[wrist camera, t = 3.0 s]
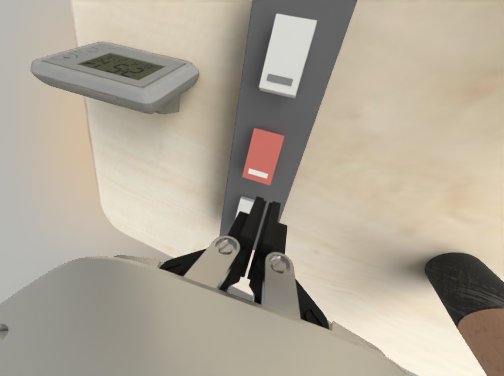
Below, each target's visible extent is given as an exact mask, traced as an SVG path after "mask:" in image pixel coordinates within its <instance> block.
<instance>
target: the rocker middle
mask: <svg viewBox="0 0 504 376" xmlns="http://www.w3.org/2000/svg"><path fill="white" fill-rule="evenodd" d="M284 137H285V136H283V135H279V134H276V133H272V132H268V131H264V130H260V129H257V128H254V131H253V135H252V139H251V143H250V147H249V151H248V155H247V159H246V163H245V167H244V171H243V176H242V177H244V178H247V179H250V180H254V181H257V182H260V183H264V184H267V185H270V184H271V182H272V178H273V175H274V171H275V168H276V165H277V161H278V158H279V154H280V151H281V148H282V144H283V141H284Z"/></svg>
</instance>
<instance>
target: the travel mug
mask: <svg viewBox="0 0 504 376" xmlns="http://www.w3.org/2000/svg"><path fill="white" fill-rule="evenodd" d="M425 273H426V275H427V277H428V279H429V281H430V282H431V284H432V286H433V288H434V289H435V291H436V293H437V294H438V296H439V298H440V300H441V301H442V303H443V305H444V306H445V308H446V310H447V312H448V313H449V315H450V317H451V318H452V320H453V322H454V323H455V325H456V327H457V329H458V330H459V332H460V334H461V335H462V337H463V338H464V340H465V341H466V343H467V345H468V346H469V348H470V349H471V351H472V352H473V354H474V356H475V357H476V359H477V360H478V362H479V363H480V365H481V367H482V368H483V370H484V371H485V373H486V375H487V376H504V282H503V281H502V280H501V279H500V278H499V277H498V276H497V275H495V274H494V273H493V272H492V271H491V270H490V269H489V268H488V267H487V266H486V265H485V264H484V263H482V262H481V261H480V260H479V259H477V258H476V257H474V256H472V255H469V254H464V253H448V254H443V255H440V256H437V257H435V258H433V259H432V260H430V261H429V262H428V263H427V265H426V267H425Z"/></svg>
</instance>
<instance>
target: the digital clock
mask: <svg viewBox="0 0 504 376" xmlns="http://www.w3.org/2000/svg"><path fill="white" fill-rule="evenodd" d="M31 72H32V73H33V74H34V76H36V77H37V78H38V79H39V80H41V81H42V82H44V83H46V84H48V85H50V86H53V87H56V88H60V89H63V90H66V91H70V92H73V93H76V94H80V95H83V96H87V97H90V98H94V99H97V100H101V101H104V102H108V103H111V104H115V105H118V106H122V107H125V108H129V109H132V110H136V111H140V112H144V113H149V114H150V113H154V112H156V113H159V114H168V113H174V112H179V95H180V94H182V93H183V92H184V91H186V90H187V89H188V88H190V87H191V86H193V85H194V84H195V83H196V81H197V79H198V77H199V71H198V70H197V68H196V67H195V66H194V65H193V64H192V63H190V62H187V61H183V60H179V59H175V58H171V57H167V56H163V55H158V54H154V53H150V52H146V51H142V50H137V49H133V48H129V47H125V46H121V45H117V44H112V43H107V42H97V43H93V44H90V45H86V46H82V47H79V48H75V49H71V50H68V51H64V52H60V53H57V54H53V55H50V56H46V57H42V58H39V59H36V60H33V61H32V64H31Z"/></svg>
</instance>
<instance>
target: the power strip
mask: <svg viewBox="0 0 504 376" xmlns="http://www.w3.org/2000/svg"><path fill="white" fill-rule="evenodd" d="M356 2H357V0H253V2H252V9H251V16H250V23H249V30H248V37H247V45H246V52H245V59H244V66H243V73H242V80H241V87H240V94H239V101H238V108H237V115H236V122H235V130H234V137H233V144H232V151H231V158H230V165H229V172H228V179H227V186H226V193H225V200H224V207H223V214H222V222H221V229H220V236H227V235H228V233H229V231H230V229H231V227H232V225H233V223H234V221H235V218H236V214H237V210H238V206H239V202H240V198H241V197H242V196H244V197H247V198H250V199H253V200H255V199H256V196H258V197H262V198H264V201H267V202H266V206H265V209H264V213H263V216H262V220H261V223H260V227H259V230H258V233H257V237H256V240H255V243H254V247H253V250H255V249H256V245H257V242H258V238H259V235H260V232H261V228H262V225H263V222H264V218H265V215H266V212H267V208H268V205H269V202H271V203H272V202H273V201H275V202H279V203H281V206H280V212H279V217H278V223H279V221H280V218H281V215H282V212H283V210H284V207H285V204H286V201H287V198H288V195H289V193H290V190H291V187H292V184H293V181H294V178H295V176H296V173H297V170H298V167H299V164H300V161H301V158H302V156H303V153H304V150H305V147H306V144H307V141H308V139H309V136H310V133H311V130H312V127H313V124H314V122H315V119H316V116H317V113H318V110H319V107H320V104H321V102H322V99H323V96H324V93H325V90H326V87H327V85H328V82H329V79H330V76H331V73H332V70H333V67H334V65H335V62H336V59H337V56H338V53H339V50H340V48H341V45H342V42H343V39H344V36H345V33H346V31H347V28H348V25H349V22H350V19H351V16H352V13H353V11H354V8H355V5H356ZM276 14H282V15H288V16H294V17H299V18H305V19H311V20H317V23H316V28H315V32H314V35H313V39H312V42H311V45H310V49H309V52H308V56H307V59H306V62H305V66H304V69H303V73H302V76H301V79H300V83H299V86H298V90H297V93H296V96H295V98H291V97H286V96H282V95H278V94H274V93H269V92H265V91H261V90H260V88H259V85H260V80H261V76H262V72H263V68H264V63H265V59H266V55H267V51H268V47H269V42H270V38H271V34H272V30H273V26H274V21H275V17H276ZM254 128H257V129H260V130H264V131H268V132H272V133H276V134H279V135H283V136H285V137H284V141H283V144H282V148H281V151H280V154H279V158H278V161H277V165H276V168H275V171H274V175H273V178H272V182H271V184H270V185H267V184H264V183H260V182H257V181H254V180H250V179H247V178H244V177H242V176H243V171H244V167H245V163H246V159H247V155H248V151H249V147H250V143H251V139H252V135H253V131H254ZM220 236H219V237H220Z"/></svg>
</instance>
